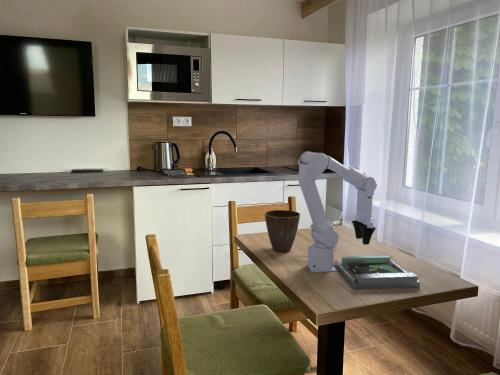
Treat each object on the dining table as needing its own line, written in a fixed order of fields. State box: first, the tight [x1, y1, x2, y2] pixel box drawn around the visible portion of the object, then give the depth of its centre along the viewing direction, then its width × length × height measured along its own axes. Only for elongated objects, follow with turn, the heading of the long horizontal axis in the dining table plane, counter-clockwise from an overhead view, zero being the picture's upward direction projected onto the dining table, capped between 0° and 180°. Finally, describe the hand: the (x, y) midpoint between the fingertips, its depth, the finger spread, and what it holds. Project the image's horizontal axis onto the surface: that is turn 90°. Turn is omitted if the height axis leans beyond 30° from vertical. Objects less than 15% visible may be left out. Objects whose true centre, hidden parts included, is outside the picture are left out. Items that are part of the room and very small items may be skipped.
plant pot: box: [264, 209, 301, 253], centre depth 169 cm, size 15×15×16 cm
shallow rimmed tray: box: [333, 258, 421, 290], centre depth 141 cm, size 22×23×4 cm
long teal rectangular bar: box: [340, 255, 391, 270], centre depth 149 cm, size 18×2×4 cm, turn 95°
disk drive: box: [350, 264, 401, 275], centre depth 142 cm, size 10×3×15 cm
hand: (362, 241), depth 154 cm, fingers open, 7 cm apart
